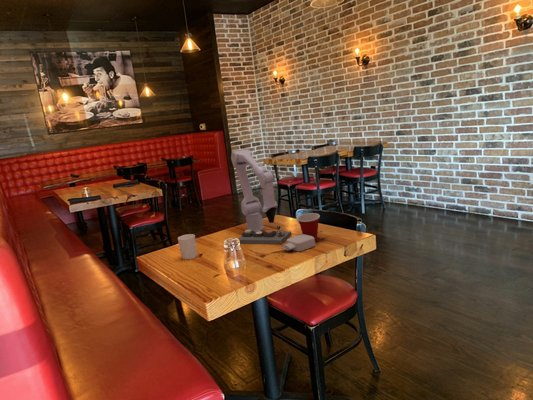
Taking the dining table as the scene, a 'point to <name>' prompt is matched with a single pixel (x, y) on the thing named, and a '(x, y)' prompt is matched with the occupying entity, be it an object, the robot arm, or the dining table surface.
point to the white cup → (187, 246)
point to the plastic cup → (309, 224)
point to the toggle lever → (279, 229)
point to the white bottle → (299, 243)
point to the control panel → (264, 237)
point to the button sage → (248, 231)
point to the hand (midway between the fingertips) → (271, 222)
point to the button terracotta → (269, 231)
